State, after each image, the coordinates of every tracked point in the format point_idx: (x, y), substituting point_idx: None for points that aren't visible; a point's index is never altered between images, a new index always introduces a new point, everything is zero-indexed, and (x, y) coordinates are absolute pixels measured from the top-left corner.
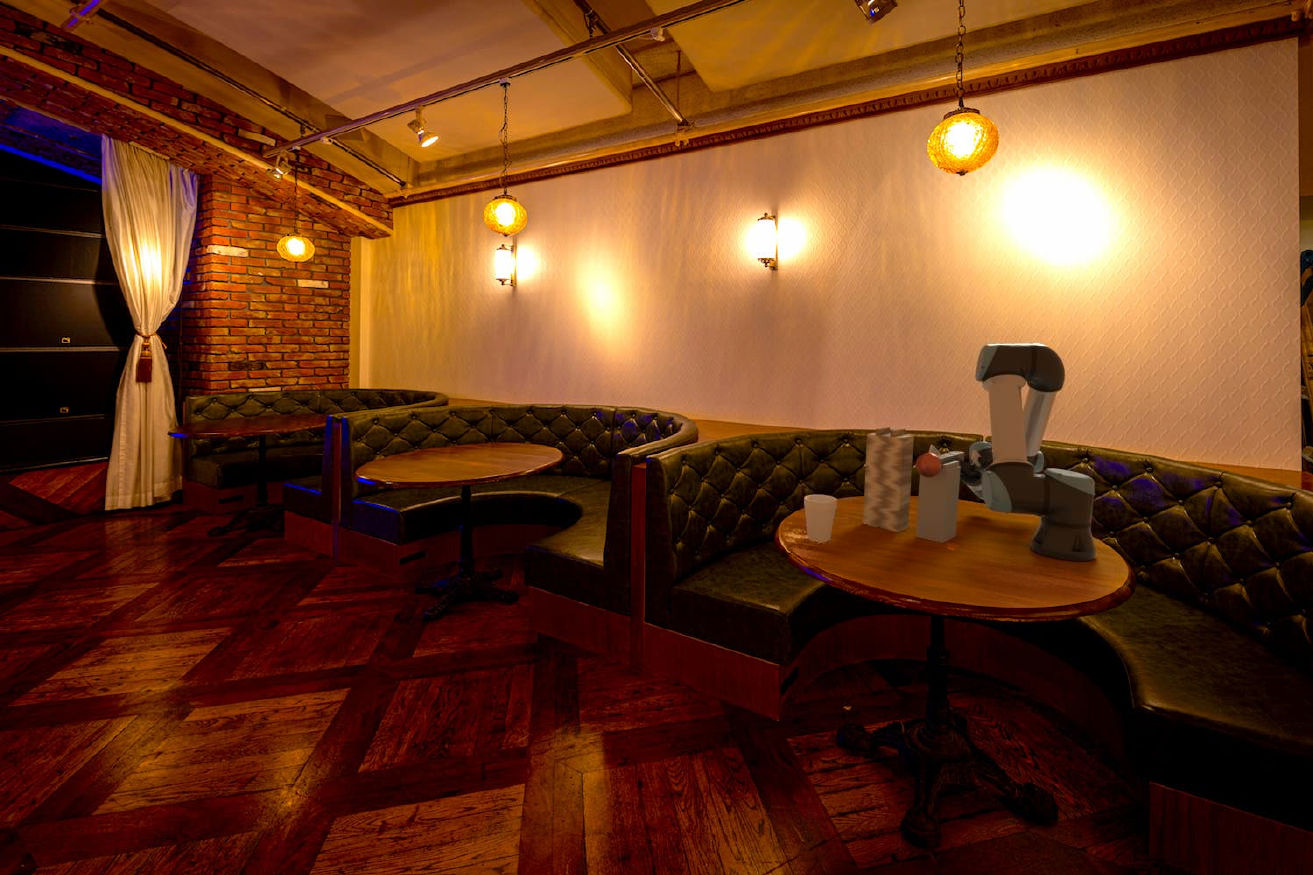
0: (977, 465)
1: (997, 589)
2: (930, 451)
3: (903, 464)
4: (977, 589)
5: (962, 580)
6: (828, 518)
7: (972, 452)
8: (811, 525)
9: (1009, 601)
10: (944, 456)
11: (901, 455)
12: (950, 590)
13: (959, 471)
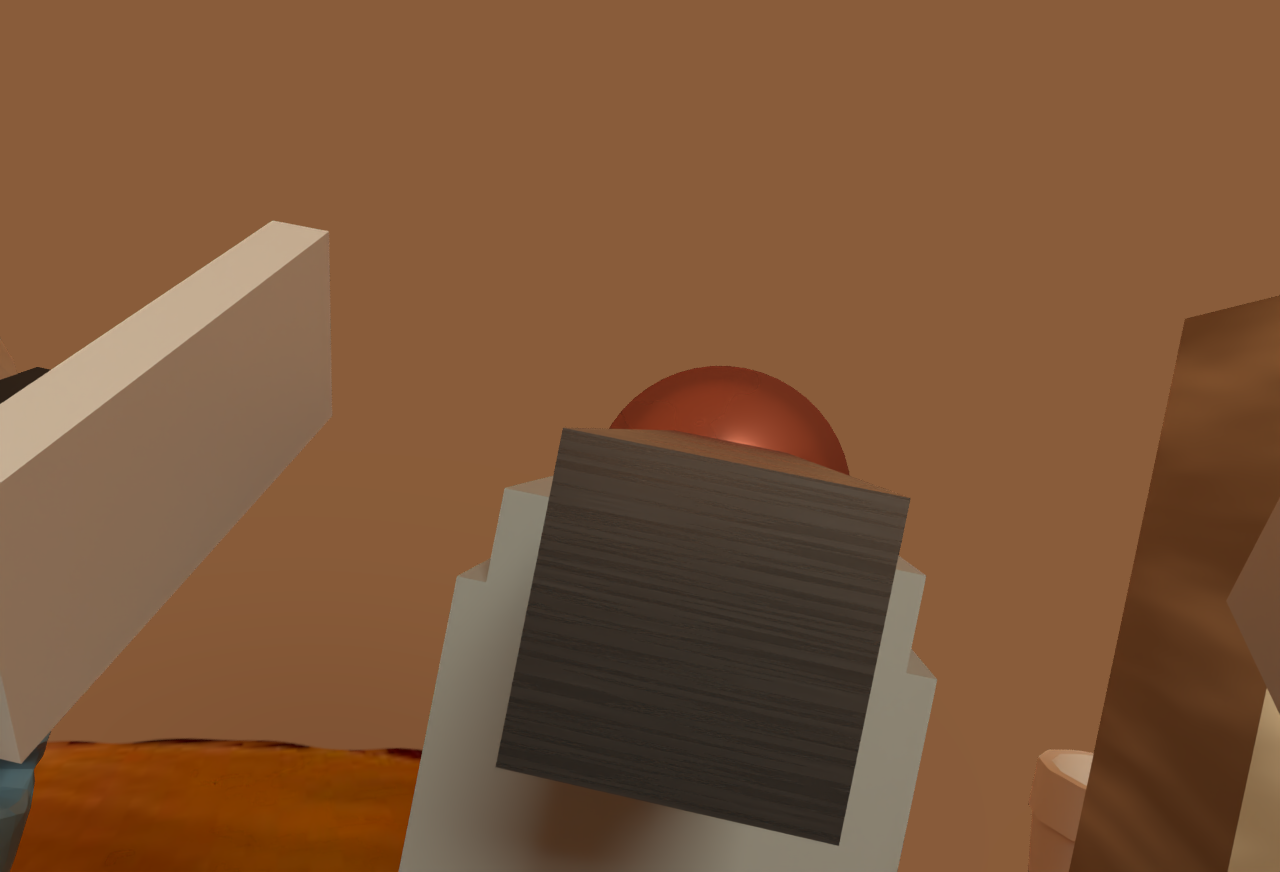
0: (45, 722)
1: (75, 821)
2: (1260, 575)
3: (1134, 677)
4: (172, 810)
5: (231, 853)
6: (1029, 861)
7: (326, 290)
8: None
9: (57, 768)
10: (708, 440)
11: (1145, 543)
12: (287, 793)
13: (449, 653)
